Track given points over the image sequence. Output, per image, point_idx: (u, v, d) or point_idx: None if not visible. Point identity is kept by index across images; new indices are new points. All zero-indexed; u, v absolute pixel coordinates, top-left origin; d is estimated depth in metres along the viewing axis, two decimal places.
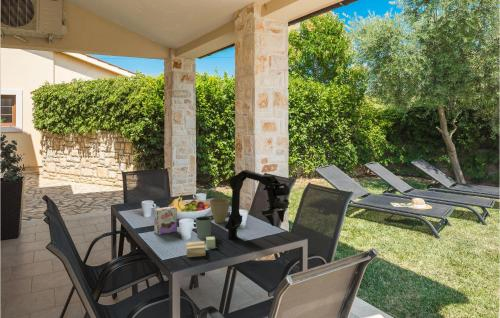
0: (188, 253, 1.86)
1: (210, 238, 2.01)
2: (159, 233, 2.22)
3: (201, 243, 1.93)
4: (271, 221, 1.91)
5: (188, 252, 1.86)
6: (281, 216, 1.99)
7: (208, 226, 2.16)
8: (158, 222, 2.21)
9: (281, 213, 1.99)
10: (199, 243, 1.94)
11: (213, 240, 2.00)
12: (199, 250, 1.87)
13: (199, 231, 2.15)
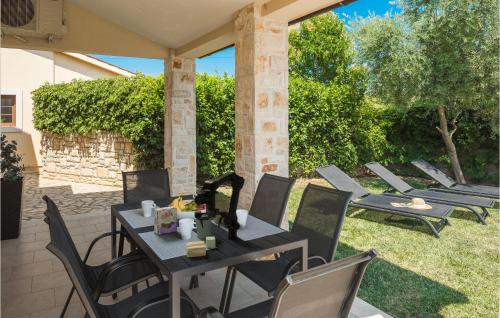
0: (188, 253, 1.86)
1: (210, 238, 2.01)
2: (159, 233, 2.22)
3: (201, 243, 1.94)
4: (201, 224, 2.00)
5: (188, 252, 1.86)
6: (218, 222, 2.02)
7: (208, 226, 2.16)
8: (158, 222, 2.21)
9: (219, 219, 2.01)
10: (199, 243, 1.94)
11: (213, 240, 2.00)
12: (200, 250, 1.87)
13: (199, 231, 2.15)
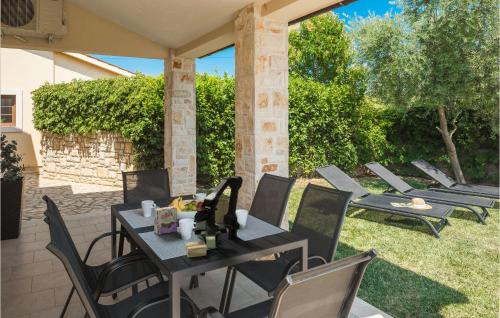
0: (189, 253, 1.86)
1: (210, 238, 2.01)
2: (159, 233, 2.22)
3: (200, 243, 1.94)
4: (204, 240, 2.01)
5: (189, 252, 1.86)
6: (215, 238, 2.03)
7: None
8: (158, 222, 2.21)
9: (215, 235, 2.02)
10: (199, 243, 1.94)
11: (213, 240, 2.00)
12: (200, 250, 1.87)
13: None
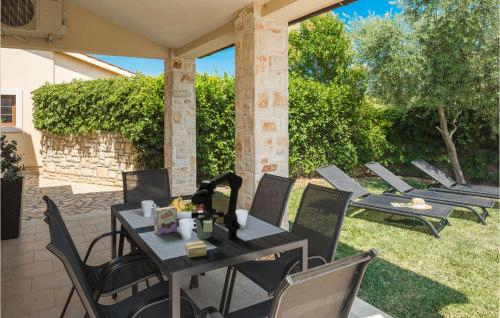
0: (189, 253, 1.86)
1: (207, 222, 1.98)
2: (159, 233, 2.22)
3: (200, 243, 1.94)
4: (201, 224, 1.98)
5: (189, 252, 1.86)
6: (212, 222, 1.99)
7: None
8: (158, 222, 2.21)
9: (212, 220, 1.99)
10: (199, 243, 1.94)
11: (210, 224, 1.97)
12: (200, 249, 1.88)
13: (199, 231, 2.15)
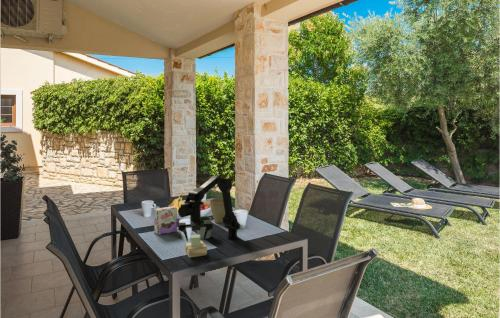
0: (190, 253, 1.86)
1: (195, 236, 1.90)
2: (159, 233, 2.22)
3: (200, 243, 1.94)
4: (185, 236, 1.90)
5: (190, 252, 1.86)
6: (204, 234, 1.92)
7: None
8: (158, 222, 2.21)
9: (204, 231, 1.91)
10: None
11: (198, 238, 1.89)
12: (201, 249, 1.88)
13: (199, 231, 2.15)
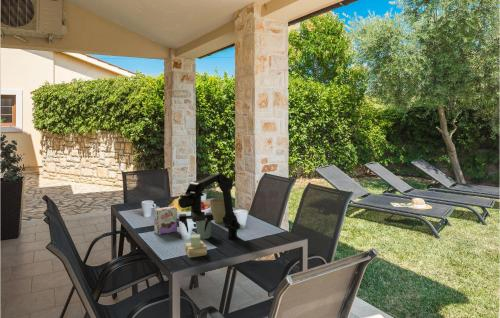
0: (190, 253, 1.86)
1: (195, 236, 1.91)
2: (159, 233, 2.22)
3: (200, 243, 1.94)
4: (186, 227, 1.90)
5: (190, 252, 1.85)
6: (204, 225, 1.92)
7: (208, 226, 2.16)
8: (158, 222, 2.21)
9: (205, 222, 1.91)
10: None
11: (198, 238, 1.89)
12: (201, 249, 1.88)
13: (199, 231, 2.15)
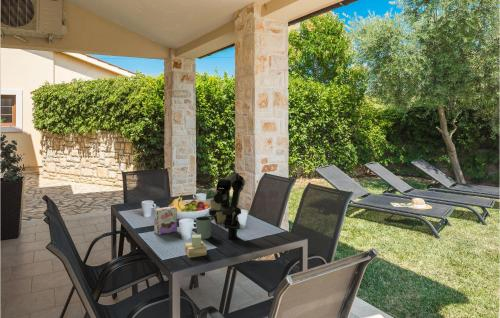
0: (190, 254, 1.85)
1: (196, 236, 1.91)
2: (159, 233, 2.22)
3: None
4: None
5: (190, 253, 1.85)
6: (232, 219, 2.04)
7: (208, 226, 2.16)
8: (158, 222, 2.21)
9: (233, 216, 2.04)
10: None
11: (199, 238, 1.89)
12: (201, 250, 1.88)
13: (199, 231, 2.15)
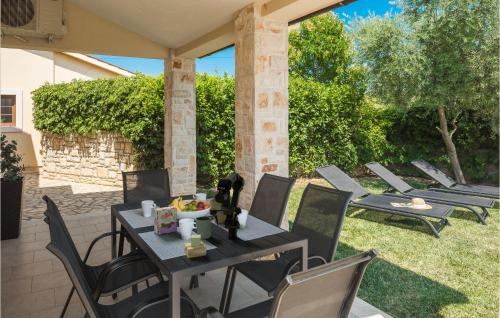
0: (189, 254, 1.85)
1: (195, 236, 1.90)
2: (159, 233, 2.22)
3: None
4: (216, 221, 2.03)
5: (189, 253, 1.85)
6: (233, 219, 2.04)
7: (208, 226, 2.16)
8: (158, 222, 2.21)
9: (233, 216, 2.04)
10: None
11: (198, 238, 1.89)
12: (200, 250, 1.87)
13: (199, 231, 2.15)
